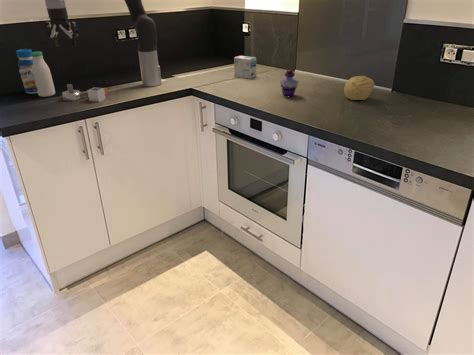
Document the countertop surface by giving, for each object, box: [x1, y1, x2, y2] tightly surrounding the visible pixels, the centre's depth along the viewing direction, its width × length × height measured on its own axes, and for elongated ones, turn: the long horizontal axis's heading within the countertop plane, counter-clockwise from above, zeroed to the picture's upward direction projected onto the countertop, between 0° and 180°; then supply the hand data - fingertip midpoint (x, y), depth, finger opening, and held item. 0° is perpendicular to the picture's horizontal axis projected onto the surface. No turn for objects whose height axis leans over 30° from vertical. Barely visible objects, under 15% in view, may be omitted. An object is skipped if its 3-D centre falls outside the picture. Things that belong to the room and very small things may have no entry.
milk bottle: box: [31, 50, 56, 98], centre depth 180 cm, size 8×8×20 cm
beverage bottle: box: [15, 48, 38, 95], centre depth 185 cm, size 8×8×20 cm
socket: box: [86, 87, 107, 103], centre depth 175 cm, size 5×5×5 cm
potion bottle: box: [279, 69, 299, 98], centre depth 178 cm, size 9×9×12 cm
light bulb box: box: [233, 55, 257, 80], centre depth 211 cm, size 11×7×11 cm, turn 58°
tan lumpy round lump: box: [343, 75, 375, 101], centre depth 172 cm, size 12×12×11 cm
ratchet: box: [61, 83, 109, 102], centre depth 180 cm, size 20×8×6 cm, turn 118°
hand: (65, 46), depth 168 cm, fingers open, 8 cm apart
